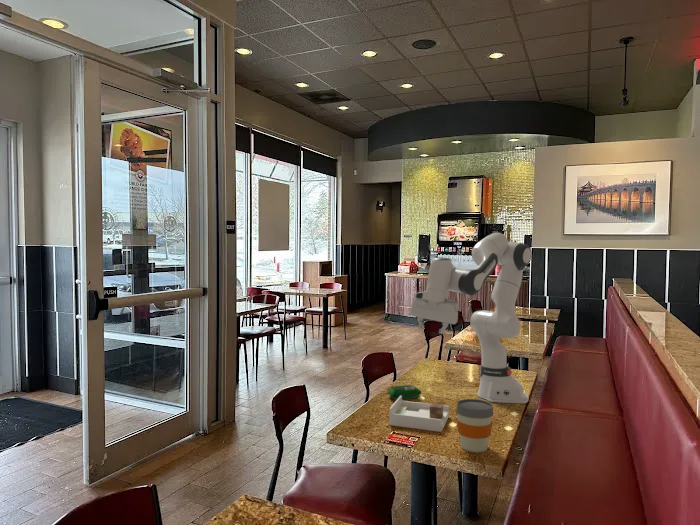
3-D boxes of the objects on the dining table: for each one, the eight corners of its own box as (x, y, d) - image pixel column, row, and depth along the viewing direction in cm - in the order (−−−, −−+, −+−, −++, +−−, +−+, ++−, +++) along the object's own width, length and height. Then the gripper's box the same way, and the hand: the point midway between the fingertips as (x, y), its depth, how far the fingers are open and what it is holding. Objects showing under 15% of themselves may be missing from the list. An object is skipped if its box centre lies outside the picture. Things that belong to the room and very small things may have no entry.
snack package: (423, 399, 232) (423, 387, 231) (391, 401, 227) (391, 389, 227) (417, 394, 238) (417, 383, 238) (385, 396, 234) (385, 385, 234)
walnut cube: (443, 415, 202) (443, 404, 202) (441, 419, 198) (441, 407, 198) (431, 414, 204) (431, 403, 203) (429, 417, 199) (429, 406, 199)
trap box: (448, 416, 208) (448, 401, 208) (441, 431, 192) (441, 414, 191) (400, 410, 215) (400, 395, 214) (389, 425, 198) (389, 408, 198)
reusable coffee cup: (451, 440, 184) (452, 399, 183) (485, 439, 185) (486, 398, 184) (461, 454, 171) (462, 410, 171) (498, 454, 172) (499, 410, 171)
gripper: (463, 301, 200) (458, 336, 200) (419, 294, 214) (414, 326, 214) (455, 300, 196) (450, 336, 195) (411, 293, 209) (406, 326, 209)
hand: (431, 331), depth 205 cm, fingers open, 8 cm apart
